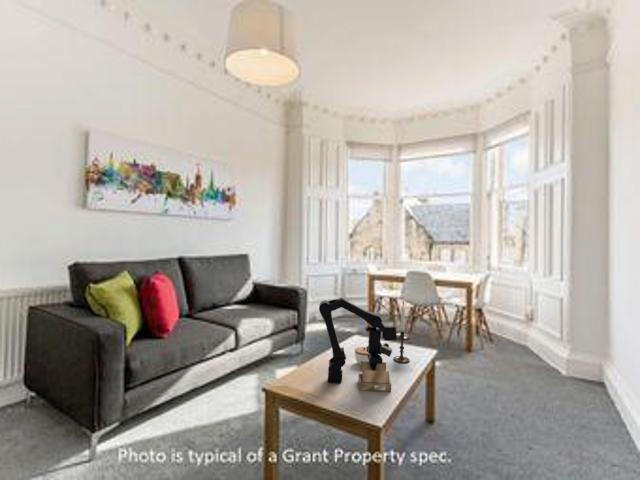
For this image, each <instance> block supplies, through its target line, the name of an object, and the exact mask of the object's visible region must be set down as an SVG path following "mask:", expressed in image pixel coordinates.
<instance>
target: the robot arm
mask: <svg viewBox="0 0 640 480" xmlns="http://www.w3.org/2000/svg"><path fill="white" fill-rule="evenodd" d="M341 308H342V309H344V310H346V311H347V312H350V313H352V314H353V315H355V316H358V317H360V318H362V319H363V320H364V321H365V322H366V323H367V324H368V325H367V326H366V327H365V328H364V330H365V331H366V332H368V341H367V343H368V345H367V346H366V347H367V352H368V353H369V355H368V360H369V363H370V366H371V368H372V371H375V369H376V366H377V364H382V362H384V361H383V358H382V357H383V356H381V355H382V354H383V355H385V356H386V357H389V358H391V356H392V353H393V348H392V347H390V345H389V343H387V342H385V343H383V344H382V343H381V338H382V339H383V340H384V341H395V342H396V341H397V340H398V339H397V334H396V333H397V328H396V326H395V325H394V326H393V325H391V326H386V325H385V324H384V323H382V322H383V320H382V318H381V316H380V314H378V313H376V312H373V311H370V310H365V309H364V308H362V307H359V306H358V305H356V304H355V303H353V302H351V301H348V300H346V299H345V298H343V297H339V298H336V299H331V300H322V301H321V302H320V303H319V306H318V311H319V313H320V315H321V318H322V319H323V321H324V323H325V326H326V330H327V331H326V332H327V334H328V338H329V342H330V345H331V348H332V350H331V351H332V357H331V358H330V359H329V360H328V368H327V369H328V371H327V376H328V377H327V383H329V384H330V383H332V384H342V382H343V370H342V367H344V366H345V364H346V360H347V354H346V353H345V350H344V347H343V346H342V347H341V346H340V343H339V340H338V335H337V332H336V328H335V325H334V322H333V316H332V315H333V314H332V312H334V311H336V310H338V309H341Z"/></svg>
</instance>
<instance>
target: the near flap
mask: <svg viewBox="0 0 640 480" xmlns="http://www.w3.org/2000/svg"><path fill="white" fill-rule="evenodd" d="M361 374H362V382H379V383H389V378H390V371H389V370H388V371H387V370H386V371H372V370H362V372H361Z"/></svg>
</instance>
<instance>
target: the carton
mask: <svg viewBox="0 0 640 480" xmlns="http://www.w3.org/2000/svg"><path fill="white" fill-rule="evenodd" d="M357 377H358V389H359V391H361V392H363V391H365V392H379V393H380V392H383V393H391V392H392V382H391V379H390V377H389V383H379V382H362V372H360V373H358V376H357Z"/></svg>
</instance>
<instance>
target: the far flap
mask: <svg viewBox="0 0 640 480" xmlns="http://www.w3.org/2000/svg"><path fill="white" fill-rule="evenodd" d="M362 370H372V368H371V366H370V363H369V362H365V361H361V365H360V373H362ZM375 371H387V362H384V361H383V362H382V364H377V366H376V369H375Z"/></svg>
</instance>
